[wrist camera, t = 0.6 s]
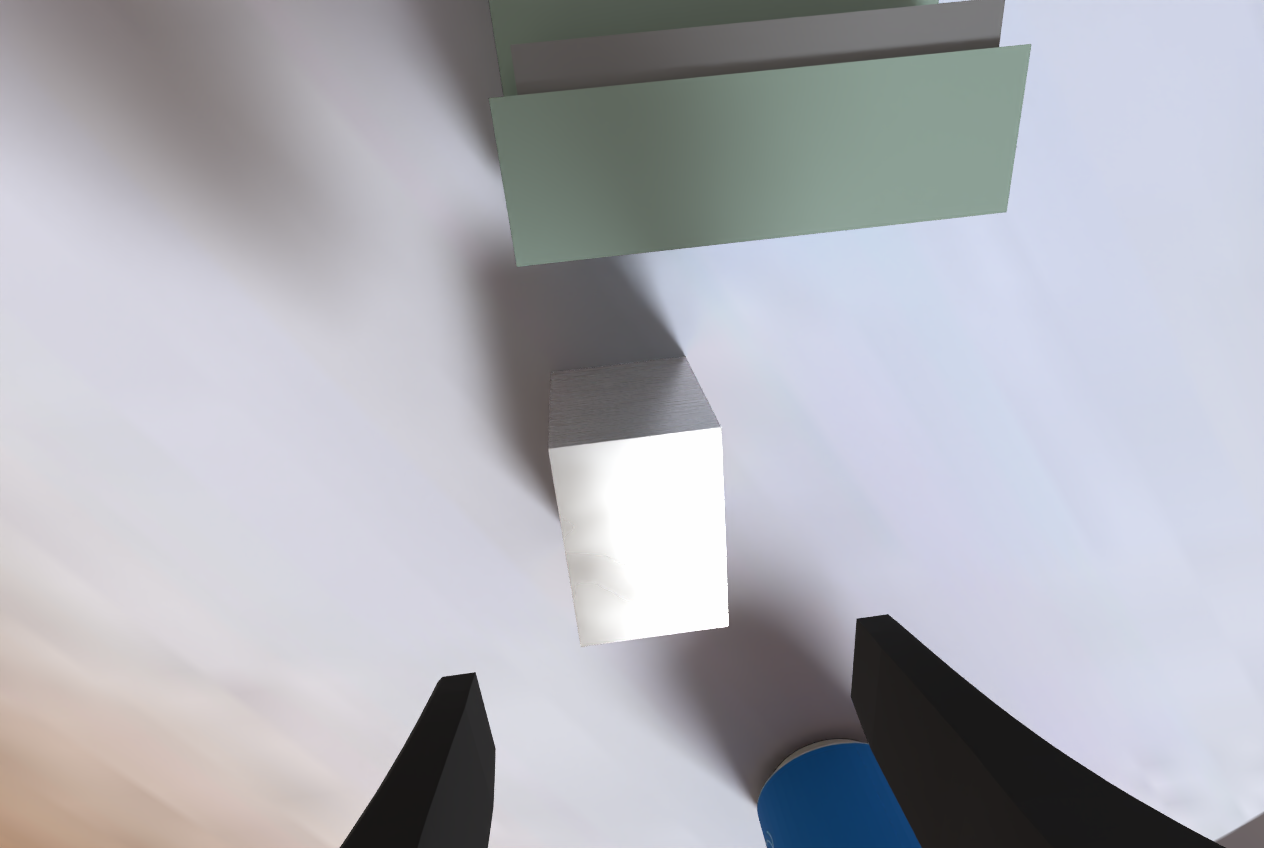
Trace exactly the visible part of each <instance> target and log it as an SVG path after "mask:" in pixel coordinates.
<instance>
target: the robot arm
mask: <svg viewBox="0 0 1264 848" xmlns="http://www.w3.org/2000/svg"><path fill="white" fill-rule="evenodd" d="M851 698H852V701H853V704H854V706H855V709H856V712H857V714H858V717H859V720H860V723H861V725H862V728H863V730H864V733H865V735H866V738H867V740H868V743H869V746H870V748H871V751H872V753H873V755H874V756H875V758H876V760H877V762H878V764H879V766H880V768H881V770H882V772H883V774H884V776H885V778H886V780H887V782H888V784H889V786H890V788H891V790H892V792H893V794H894V796H895V797H896V799H897V801H898V803H899V805H900V807H901V809H902V811H903V813H904V815H905V817H906V819H907V820H908V822H909V824H910V826H911V828H912V830H913V832H914V834H915V836H916V838H917V840H918V841H919V843H920V845H921V847H922V848H1225V847H1223V846H1221V845H1219V844H1217V843H1215V842H1214V841H1212V840H1210V839H1208V838H1206V837H1204V836H1202V835H1200V834H1198V833H1197V832H1195V831H1193V830H1191V829H1189V828H1187V827H1185V826H1183V825H1182V824H1180V823H1178V822H1176V821H1175V820H1173V819H1171V818H1169V817H1167V816H1166V815H1164V814H1162V813H1160V812H1159V811H1157V810H1155V809H1153V808H1152V807H1150V806H1148V805H1146V804H1145V803H1143V802H1141V801H1139V800H1138V799H1136V798H1134V797H1132V796H1131V795H1129V794H1127V793H1126V792H1124V791H1122V790H1121V789H1119V788H1117V787H1116V786H1114V785H1112V784H1111V783H1109V782H1108V781H1106V780H1104V779H1103V778H1101V777H1100V776H1098V775H1097V774H1095V773H1094V772H1092V771H1090V770H1089V769H1087V768H1086V767H1084V766H1083V765H1081V764H1080V763H1078V762H1076V761H1075V760H1073V759H1072V758H1070V757H1069V756H1067V755H1066V754H1064V753H1063V752H1061V751H1060V750H1058V749H1057V748H1055V747H1054V746H1052V745H1051V744H1050V743H1048V742H1047V741H1045V740H1044V739H1042V738H1041V737H1040V736H1038V735H1037V734H1035V733H1034V732H1033V731H1031V730H1030V729H1029V728H1027V727H1026V726H1024V725H1023V724H1022V723H1020V722H1019V721H1018V720H1016V719H1015V718H1014V717H1012V716H1011V715H1010V714H1008V713H1007V712H1006V711H1004V710H1003V709H1002V708H1000V707H999V706H998V705H997V704H995V703H994V702H993V701H991V700H990V699H989V698H988V697H986V696H985V695H984V694H983V693H981V692H980V691H979V690H978V689H976V688H975V687H974V686H973V685H971V684H970V683H969V682H968V681H966V680H965V679H964V678H963V677H961V676H960V675H959V674H958V673H957V672H955V671H954V670H953V669H952V668H951V667H949V666H948V665H947V664H946V663H945V662H944V661H942V660H941V659H940V658H939V657H938V656H936V655H935V654H934V653H933V652H932V651H931V650H929V649H928V648H927V647H926V646H925V645H924V644H922V643H921V642H920V641H919V640H918V639H917V638H915V637H914V636H913V635H912V634H911V633H910V632H908V631H907V630H906V629H905V628H904V627H903V626H901V625H900V624H899V623H898V622H897V621H895V620H894V619H893V618H892V617H891V616H889V615H888V614H887V615H880V616H873V617H866V618H859V619H857V621H856V635H855V648H854V662H853V676H852V689H851ZM494 781H495V745H494V741H493V737H492V734H491V730H490V726H489V722H488V718H487V714H486V711H485V707H484V703H483V699H482V695H481V692H480V688H479V684H478V680H477V676H476V672H475V673H468V674H460V675H453V676H446V677H442V678H441V679H440V680H439V681H438V683H437V685H436V687H435V689H434V691H433V693H432V695H431V696H430V698H429V700H428V702H427V704H426V706H425V708H424V710H423V712H422V714H421V716H420V718H419V719H418V721H417V723H416V725H415V727H414V729H413V730H412V732H411V734H410V736H409V738H408V739H407V741H406V743H405V745H404V747H403V748H402V750H401V752H400V753H399V755H398V757H397V758H396V760H395V762H394V764H393V765H392V767H391V769H390V770H389V772H388V774H387V775H386V777H385V779H384V780H383V782H382V784H381V785H380V787H379V789H378V790H377V792H376V794H375V795H374V797H373V798H372V800H371V801H370V803H369V804H368V806H367V807H366V809H365V810H364V812H363V813H362V815H361V817H360V818H359V820H358V821H357V823H356V824H355V826H354V827H353V829H352V830H351V832H350V833H349V835H348V836H347V838H346V839H345V841H344V842H343V844H342V845H341V847H340V848H488V842H489V835H490V828H491V821H492V813H493V803H494Z"/></svg>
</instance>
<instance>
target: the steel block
mask: <svg viewBox="0 0 1264 848" xmlns="http://www.w3.org/2000/svg"><path fill="white" fill-rule="evenodd" d="M548 451H549V457H550V463H551V469H552V475H553V482H554V488H555V494H556V500H557V506H558V512H559V518H560V524H561V530H562V536H563V542H564V548H565V554H566V560H567V566H568V572H569V578H570V584H571V591H572V597H573V603H574V609H575V615H576V621H577V627H578V633H579V639H580V645H581V647H584V646H591V645H598V644H605V643H612V642H620V641H627V640H634V639H641V638H648V637H655V636H662V635H669V634H677V633H684V632H691V631H698V630H705V629H712V628H719V627H726V626H728V600H727V573H726V545H725V518H724V491H723V463H722V436H721V426H720V424H719V422H718V420H717V418H716V416H715V414H714V412H713V410H712V408H711V406H710V404H709V402H708V400H707V398H706V396H705V394H704V392H703V390H702V388H701V386H700V384H699V382H698V380H697V378H696V376H695V374H694V372H693V370H692V368H691V366H690V364H689V362H688V360H687V358H686V356H681V357H673V358H665V359H656V360H648V361H640V362H631V363H623V364H614V365H606V366H598V367H589V368H581V369H573V370H564V371H556V372H551V384H550V411H549V438H548Z"/></svg>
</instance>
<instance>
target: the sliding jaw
mask: <svg viewBox="0 0 1264 848" xmlns="http://www.w3.org/2000/svg"><path fill="white" fill-rule="evenodd" d="M1004 4H1005V0H971V1H961V2H951V3H940V4H930V5H919V6H909V7H899V8H888V9H878V10H867V11H857V12H847V13H836V14H826V15H815V16H805V17H795V18H784V19H774V20H763V21H753V22H743V23H732V24H722V25H711V26H701V27H691V28H680V29H670V30H659V31H649V32H639V33H628V34H618V35H608V36H597V37H587V38H576V39H566V40H556V41H545V42H535V43H524V44H514V45H510V48H511V54H512V61H513V68H514V75H515V81H516V88H517V95H516V96H506V97H496V98H489V102H490V108H491V114H492V120H493V126H494V132H495V138H496V145H497V151H498V157H499V163H500V169H501V175H502V181H503V187H504V193H505V199H506V205H507V211H508V217H509V223H510V229H511V235H512V241H513V247H514V253H515V259H516V265H517V267H521V266H530V265H539V264H548V263H557V262H566V261H575V260H584V259H593V258H602V257H610V256H619V255H628V254H637V253H646V252H655V251H664V250H673V249H682V248H691V247H700V246H709V245H718V244H726V243H735V242H744V241H753V240H762V239H771V238H780V237H789V236H798V235H807V234H816V233H825V232H833V231H842V230H851V229H860V228H869V227H878V226H887V225H896V224H905V223H914V222H923V221H932V220H941V219H949V218H958V217H967V216H976V215H985V214H994V213H1003V212H1006V211H1007V205H1008V198H1009V191H1010V185H1011V178H1012V171H1013V164H1014V158H1015V151H1016V144H1017V137H1018V131H1019V124H1020V117H1021V111H1022V104H1023V97H1024V90H1025V84H1026V77H1027V70H1028V63H1029V57H1030V50H1031V44H1026V45H1016V46H1006V47H999V42H1000V35H1001V27H1002V19H1003V12H1004Z"/></svg>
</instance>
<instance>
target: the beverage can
mask: <svg viewBox="0 0 1264 848" xmlns="http://www.w3.org/2000/svg"><path fill="white" fill-rule="evenodd" d="M757 812H758V817H759V821H760V824H761V828H762V831H763V835H764V839H765V842H766V846H767V848H922V847H921V845H920V843H919V841H918V840H917V838H916V836H915V834H914V832H913V830H912V828H911V826H910V824H909V822H908V820H907V819H906V817H905V815H904V813H903V811H902V809H901V807H900V805H899V803H898V801H897V799H896V797H895V796H894V794H893V792H892V790H891V788H890V786H889V784H888V782H887V780H886V778H885V776H884V774H883V772H882V770H881V768H880V766H879V764H878V762H877V760H876V758H875V756H874V755H873V753H872V751H871V748H870V746H869V743H863V742H858V741H855V740H849V739H832V740H825V741H820V742H817V743H813V744H810V745H808V746H806V747H803V748H801V749H799V750H797V751H796V752H794V753H793V754H791V755H790V756H789V757H787V758H786V759H785V760H784V761H783V762H782V763H781V764H780V765H779V766H778V768H777V769H776V770H775V772H774V773H773V774H772V775H771V776H770V777H769V779H768V780H767V781H766V783H765V784H764V786H763V788H762V790H761V792H760V795H759V798H758V803H757Z"/></svg>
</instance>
